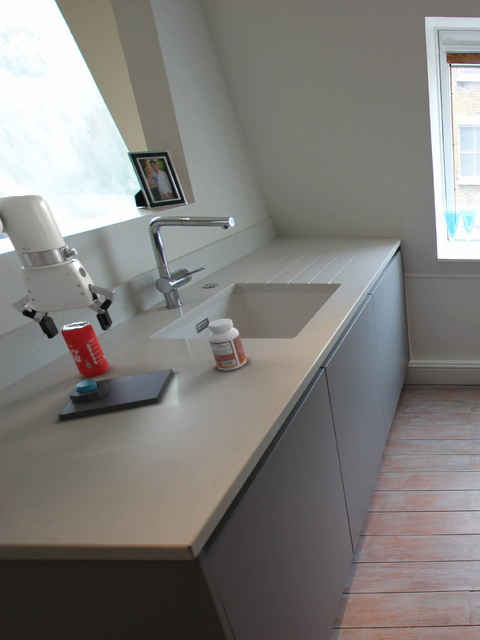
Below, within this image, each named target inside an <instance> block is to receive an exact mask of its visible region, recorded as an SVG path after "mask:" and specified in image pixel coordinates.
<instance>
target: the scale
mask: <svg viewBox="0 0 480 640" xmlns="http://www.w3.org/2000/svg"><path fill="white" fill-rule="evenodd" d="M174 374H175V373H174V369H173V368H167V369H162V370H156V371H149V372H143V373H137V374H132V375H131V374H130V375H125V376H119V377H113V378H106V379H100V380H95V382H96V384H97V387H98V388H96V389H94V390H92V391H89V392H85V393H79V392H78V390H77V388H76V386H75V387H73V388H72V389H70V390H69V391H68V393H67V394H68V396H69V398H70V401H69V402H68V403H67V404H66V405H65V406H64V408H62V410H61V411H60V412H59V413H58V418H59V420H60V422H61V421H62V422H63V421H67V420H68V421H69V420H75V419H79V418H85V417H89V416H96V415H100V414H105V413H112V412H117V411H122V410H128V409H134V408H139V407H144V406H151V405H156V404H159V403H160V400H161V399H162V398H163V395H164V394H165V391H166V390H167V387H169V384H170V382H171V380H172V378H173V376H174Z"/></svg>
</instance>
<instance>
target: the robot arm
mask: <svg viewBox="0 0 480 640" xmlns="http://www.w3.org/2000/svg"><path fill="white" fill-rule="evenodd" d="M2 234H6V235H7V236H8V239H9V240H10V242H11V244H12V246H13V248H14V250H15V252H16V254H17V257H18V260H20V262H21V265H22V266H21V267H20V275H21V280H22V282H23V286H24V289H25V292H26V295H24V296H23V297H21V298H19V299H18V300H17V301H15V302H13V303H12V304H11V306H12V308H14V309H15V310H17V311H18V312H19V313H21V314H22V315H23V316H24V317H27V318H28V319H31V320H33V322H35V323H38V325H39V328H40V329H41V331H42V333H43V334H44V335H46V337H47V339H49V340H50V339H53V338H55V337H56V336H58V334H59V333H60V332H59V329H58V328H57V325H56V324H55V321H54V320H53V317H51V316H48V315H49V313H55V312H64V311H69V310H70V311H71V310H78V309H85V308H89V309H90V310H93V311H94V312H96V315H95V316H96V319H97V322H98V324H99V325H100V328H101V330H102V331H104V332H105V331H108V330H110V328H111V327H112V324H113V320H112V318H111V315H110V313H109V311H108V309H109V308H110V307H111V306H112V305H113V303H114V299H115V296H116V291H115V290H114V289H110V288H106V287H101V286H98V285H95V283H94V281H93V279H92V278H91V276H90V274H89V273H88V271H87V270H86V268H85V267H84V265H83V264H82V263H81V261H80V260H79V259H78V258H73V257H74V256H78V255H79V252H78V250H77V249H76V248H70V247H69V245H67V244H66V242H65V238H63V234H62V232H61V230H60V228H59V225H58V223H57V220H56V219H55V217H54V214H53V212H52V210H51V208H50V205H49V203H48V201H47V200H46V199H45V197H44V196H42V195H39V194H32V193H23V194H12V195H5V196H0V237H1V236H2ZM100 295H101V296H104V300H103V301H101V300H99V299H100ZM29 302H30V304H31V305H32V307H33V308H31V307H29V306H28V305H27V304H28V303H29Z"/></svg>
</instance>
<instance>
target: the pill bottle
mask: <svg viewBox="0 0 480 640" xmlns="http://www.w3.org/2000/svg"><path fill="white" fill-rule="evenodd" d="M208 329H209V334H208V336H207V338H208V339H207V340H208V342H209V345H210V349H211V353H212V355H213V358H214V362H215V364H216V367H217V368H218V369H219V370H221V371H233V370H236V369H239V368H241V367H243V366H244V365H245V364H246V363H247V356H246V353H245V349H244V345H243V343H242V339H241V335H240V331H239V330H238V329H237V328H235V327H234V323H233V320H232V319H231V318H219V319H214V320H212V321H210V322H209V323H208Z"/></svg>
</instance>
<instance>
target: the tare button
mask: <svg viewBox="0 0 480 640" xmlns="http://www.w3.org/2000/svg"><path fill="white" fill-rule="evenodd" d="M95 381H96V380H95V379H86V380H83V381H80V382H78V383H76V384H75V387H76V388H77V390H78V392H79V393H85V392H89V391H92V390H94V389H96V388H98V387H97V384H96V382H95Z"/></svg>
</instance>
